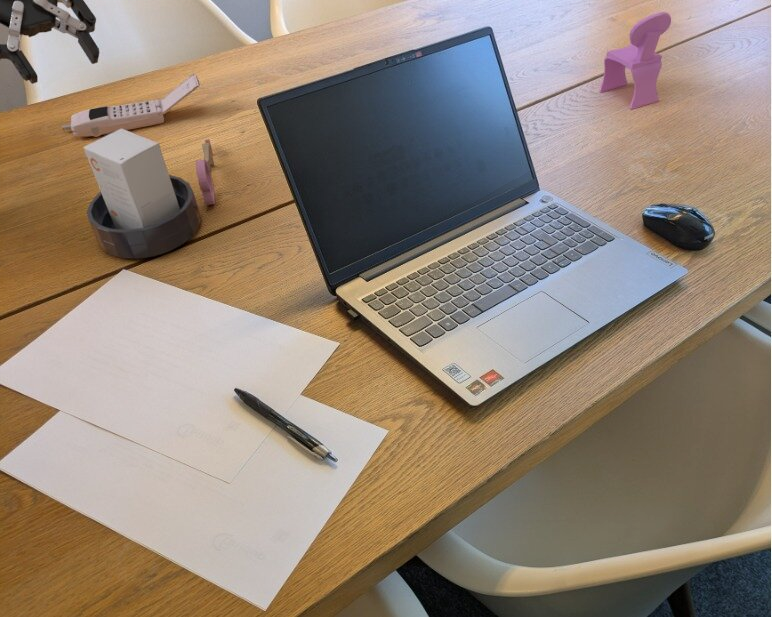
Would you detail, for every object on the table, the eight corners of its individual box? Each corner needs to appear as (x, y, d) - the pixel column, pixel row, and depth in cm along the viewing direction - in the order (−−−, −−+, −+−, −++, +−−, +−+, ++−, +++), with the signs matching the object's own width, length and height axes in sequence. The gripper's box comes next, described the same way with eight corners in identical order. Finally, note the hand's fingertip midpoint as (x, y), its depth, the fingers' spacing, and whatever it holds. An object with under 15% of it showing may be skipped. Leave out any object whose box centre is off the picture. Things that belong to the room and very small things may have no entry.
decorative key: (218, 162, 113) (214, 210, 96) (210, 163, 113) (205, 211, 96) (209, 123, 109) (203, 166, 93) (201, 124, 109) (194, 167, 93)
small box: (186, 224, 94) (160, 142, 85) (150, 247, 90) (119, 164, 81) (149, 207, 98) (121, 126, 89) (114, 228, 94) (81, 147, 85)
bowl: (129, 276, 87) (117, 245, 84) (82, 232, 95) (69, 203, 91) (220, 228, 94) (212, 199, 90) (169, 191, 102) (160, 163, 98)
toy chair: (628, 81, 122) (646, -4, 112) (663, 99, 116) (685, 11, 106) (592, 92, 119) (607, 5, 109) (626, 111, 114) (645, 21, 103)
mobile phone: (200, 85, 116) (50, 112, 110) (208, 116, 120) (63, 144, 114) (196, 72, 120) (51, 98, 115) (203, 103, 124) (64, 129, 118)
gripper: (-64, -45, 80) (12, 73, 82) (49, -69, 87) (118, 39, 89) (-57, -7, 87) (14, 101, 88) (48, -33, 94) (112, 67, 95)
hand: (66, 70), depth 89 cm, fingers open, 8 cm apart
